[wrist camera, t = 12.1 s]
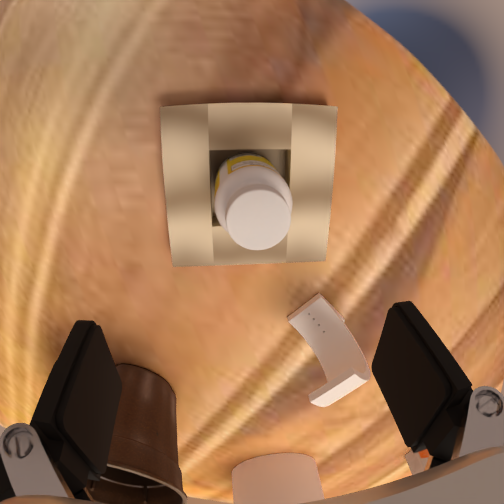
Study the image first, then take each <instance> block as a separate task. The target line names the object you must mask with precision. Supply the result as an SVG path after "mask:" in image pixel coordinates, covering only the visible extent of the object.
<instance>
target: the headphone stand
mask: <svg viewBox="0 0 504 504" xmlns="http://www.w3.org/2000/svg"><path fill="white" fill-rule="evenodd" d="M287 319H288V322H289V323H290V324H291V325H292V326H293V327H294V328H295V329H296V330H297V331H298V332H299V333H300V334H301V335H302V336H303V338H304V339H305V340H306V341H307V343H308V344H309V346H310V347H311V348H312V350H313V351H314V353H315V355H316V356H317V358H318V360H319V362H320V364H321V366H322V368H323V370H324V373H325V375H326V378H327V382H328V383H326V384H325V385H323V386H322V387H320V388H319V389H317V390H315V391H314V392H312V393H310V394H309V395H308V396H309V400H310V402H311V403H313V404H315V405H317V406H320V407H326V406H329V405H330V404H332V403H334V402H335V401H337V400H339V399H340V398H342V397H343V396H345V395H347V394H348V393H350V392H351V391H353V390H354V389H356V388H358V387H359V386H361V385H362V384H364V383H365V382H367V381H368V380H369V379H370V369H369V366H368V363H367V361H366V359H365V356H364V354H363V352H362V350H361V349H360V347H359V345H358V343H357V342H356V340H355V338H354V337H353V335H352V334H351V332H350V330H349V329H348V328H347V326H346V325H345V323H344V321H345V320H344V318H343V316H342V315H341V314H340V313H339V312H338V311H337V310H336V309H335V308H334V307H333V306H332V305H331V304H330V303H329V302H328V301H327V300H326V299H325V298H324V297H323V296H322V295H321V294H320V293H318V294H317V295H315V296H314V297H313V298H312V299H310V300H309V301H308V302H306V303H305V304H304V305H302V306H301V307H300V308H299V309H297V310H296V311H295V312H293V313H292V314H291V315H289V316H288V317H287Z"/></svg>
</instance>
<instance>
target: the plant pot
mask: <svg viewBox="0 0 504 504" xmlns="http://www.w3.org/2000/svg"><path fill="white" fill-rule="evenodd" d="M116 369H117V371H118V374H119V376H120V378H121V381H122V393H121V397H120V401H119V406H118V411H117V415H116V420H115V425H114V430H113V435H112V440H111V445H110V451H109V456H108V462H107V468H106V471H105V473H104V474H101V477H100V481H96V480H90V479H88V480H87V485H86V489H87V490H88V492H89V493H90V495H91V496H92V498H93V499H94V501H95V502H98V503H104V504H187V496H186V494H185V493H184V491H183V486H182V473H181V470H180V468H179V465H178V448H177V423H176V395H175V394H174V393H173V391H172V389H171V387H170V385H169V384H168V383H167V382H166V381H165V380H164V379H163V378H161V377H160V376H158V375H156V374H155V373H153V372H151V371H149V370H146V369H143V368H141V367H137V366H133V365H127V364H120V365H118V366H116Z"/></svg>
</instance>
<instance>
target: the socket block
mask: <svg viewBox="0 0 504 504" xmlns="http://www.w3.org/2000/svg"><path fill="white" fill-rule="evenodd" d="M337 109H338V107H336V106H326V105H312V104H293V103H207V104H189V105H174V106H163V107H160V125H161V145H162V161H163V175H164V188H165V199H166V210H167V220H168V230H169V239H170V248H171V256H172V264H173V267H186V266H215V265H243V264H269V263H293V262H316V261H325V260H326V252H327V243H328V233H329V224H330V214H331V203H332V191H333V179H334V165H335V150H336V132H337ZM240 152H254V153H257V154H260V155H262V156H263V157H265V158H266V159H267V160H269V161H270V162H271V163H272V165H273V166H274V167H275V169H276V170H277V171H278V172H279V174H280V175H281V176H282V178H283V179H284V180H285V182H286V183H287V185H288V187H289V189H290V192H291V195H292V202H293V205H292V212H291V224H290V228H289V230H288V232H287V234H286V236H285V237H284V238H283V239H282V240H281V241H280V242H279V243H278V244H276V245H275V246H273V247H271V248H268V249H264V250H250V249H246V248H244V247H242V246H240V245H238V244H237V243H236V242H235V241H234V240H233V239H232V238H231V237H230V235H229V233H228V232H227V231H225V230H224V228H223V227H222V226H221V225H220V223H219V221H218V219H217V217H216V213H215V206H214V198H215V180H216V175H217V172H218V169H219V167H220V166H221V164H222V163H223V162H224V161H225V160H226V159H227V158H229V157H230V156H232V155H234V154H236V153H240Z"/></svg>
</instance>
